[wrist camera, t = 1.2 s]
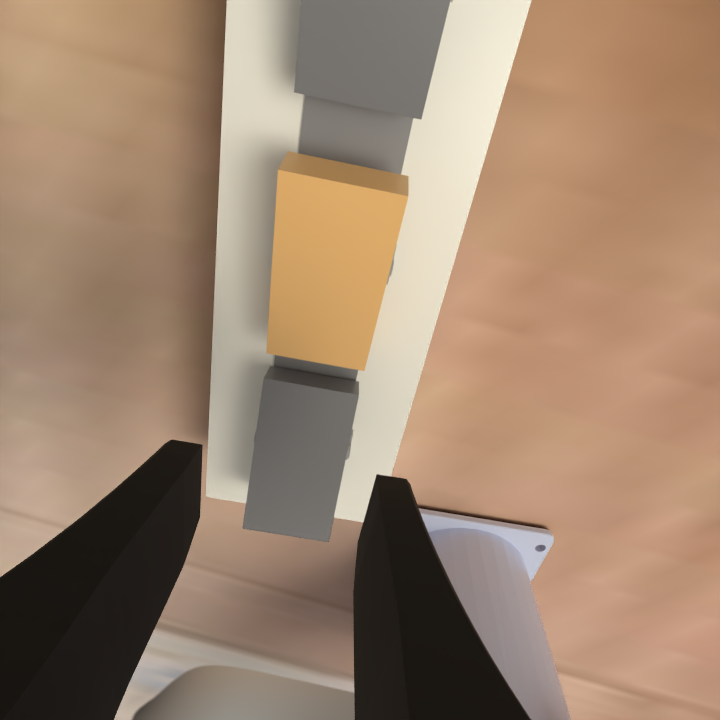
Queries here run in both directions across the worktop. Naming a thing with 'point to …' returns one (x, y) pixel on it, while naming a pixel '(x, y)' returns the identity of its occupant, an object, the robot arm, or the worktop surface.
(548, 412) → the worktop surface
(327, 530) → the block
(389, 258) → the rocker middle
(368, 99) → the block
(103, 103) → the worktop surface
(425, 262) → the rocker switch panel
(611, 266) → the worktop surface
